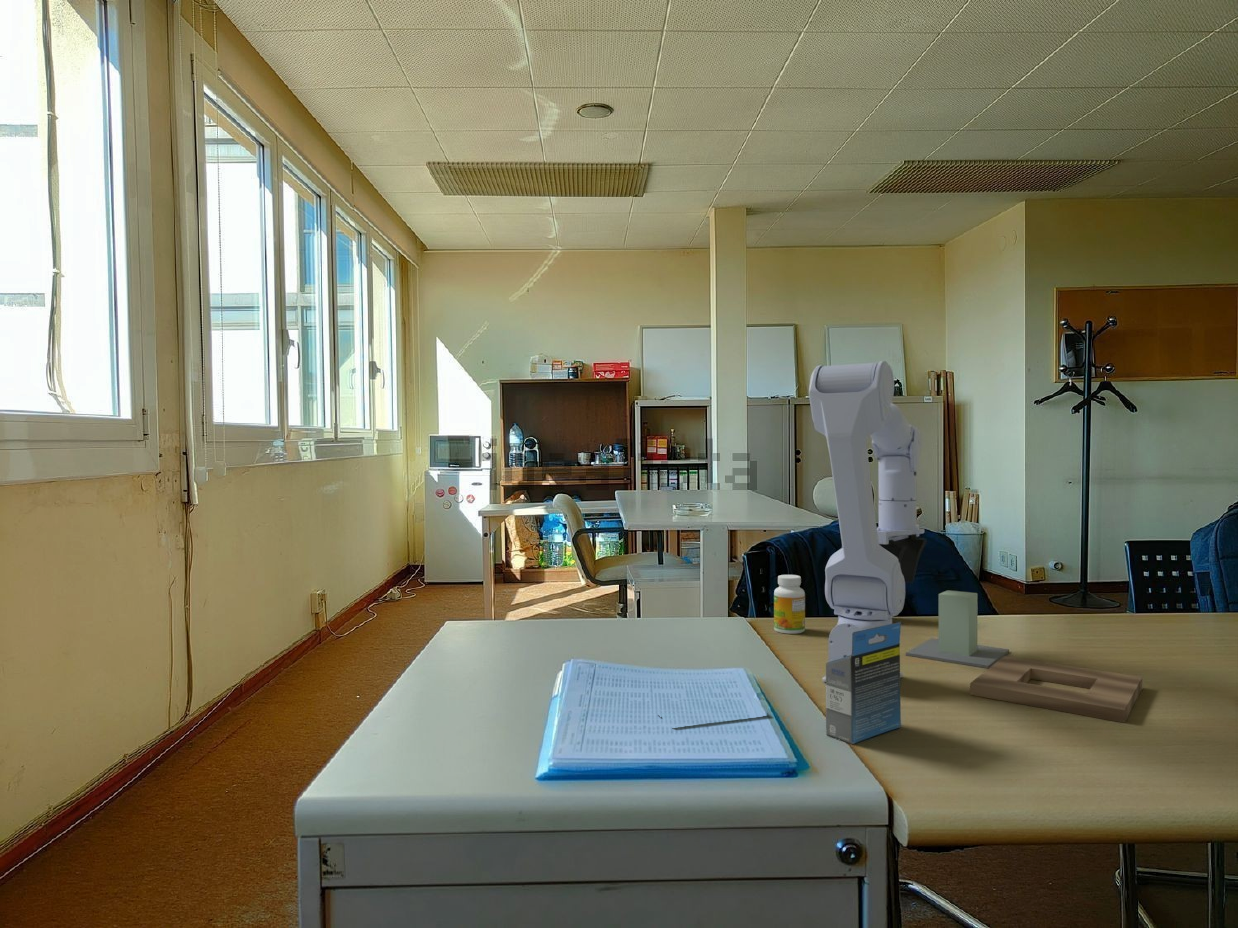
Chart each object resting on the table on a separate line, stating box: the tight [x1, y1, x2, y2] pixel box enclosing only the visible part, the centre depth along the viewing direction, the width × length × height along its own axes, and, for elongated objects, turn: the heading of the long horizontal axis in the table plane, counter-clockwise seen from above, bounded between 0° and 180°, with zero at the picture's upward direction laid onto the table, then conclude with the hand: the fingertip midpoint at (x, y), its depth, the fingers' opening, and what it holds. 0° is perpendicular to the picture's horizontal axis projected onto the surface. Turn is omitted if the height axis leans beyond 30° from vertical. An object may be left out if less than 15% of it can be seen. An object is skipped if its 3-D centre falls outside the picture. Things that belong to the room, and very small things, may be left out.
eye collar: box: [969, 655, 1143, 724], centre depth 103 cm, size 17×17×2 cm
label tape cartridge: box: [825, 621, 902, 745], centre depth 88 cm, size 9×4×12 cm, turn 126°
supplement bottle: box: [773, 574, 806, 635], centre depth 138 cm, size 5×5×10 cm
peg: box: [938, 589, 978, 656], centre depth 122 cm, size 4×4×9 cm
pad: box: [905, 638, 1010, 669], centre depth 122 cm, size 12×12×1 cm
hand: (897, 585), depth 124 cm, fingers open, 7 cm apart
